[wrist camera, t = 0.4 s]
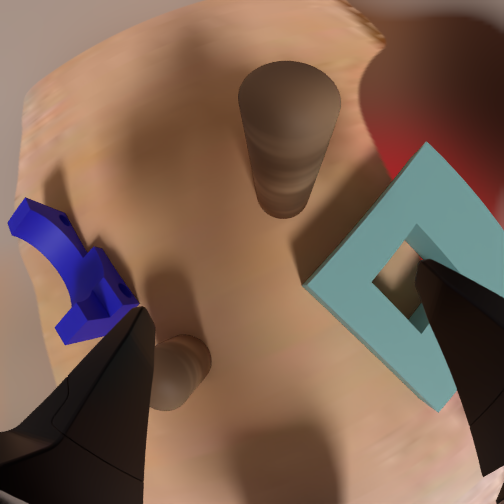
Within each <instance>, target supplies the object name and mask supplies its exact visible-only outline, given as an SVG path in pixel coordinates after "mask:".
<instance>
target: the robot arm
mask: <svg viewBox="0 0 504 504" xmlns="http://www.w3.org/2000/svg"><path fill="white" fill-rule="evenodd" d="M415 286H416V289H417V292H418V294H419V297H420V299H421V302H422V305H423V308H424V310H425V313H426V316H427V319H428V321H429V324H430V326H431V328H432V331H433V333H434V335H435V337H436V339H437V342H438V344H439V346H440V348H441V351H442V353H443V355H444V358H445V360H446V363H447V365H448V368H449V370H450V373H451V375H452V378H453V380H454V383H455V386H456V388H457V391H458V394H459V396H460V399H461V402H462V405H463V408H464V411H465V414H466V417H467V420H468V423H469V426H470V430H471V434H472V437H473V441H474V444H475V448H476V452H477V456H478V460H479V464H480V468H481V472H482V476H483V477H484V476H486V475H488V474H490V473H492V472H493V471H495V470H497V469H498V468H500V467H502V466H504V298H503V297H502V296H500V295H498V294H496V293H495V292H493V291H491V290H489V289H488V288H486V287H484V286H482V285H480V284H478V283H477V282H475V281H473V280H471V279H469V278H467V277H465V276H464V275H462V274H460V273H458V272H456V271H454V270H452V269H450V268H448V267H446V266H444V265H442V264H440V263H438V262H436V261H434V260H432V259H425V260H421V261H420V262H419V263H418V268H417V273H416V277H415ZM154 354H155V325H154V322H153V320H152V318H151V317H150V315H149V313H148V311H147V309H146V308H145V307H143V306H140V307H133V308H132V309H131V310H130V311H129V312H128V313H127V314H126V315H125V316H124V317H123V318H122V319H121V320H120V321H119V322H118V323H117V324H116V325H115V326H114V327H113V328H112V329H111V330H110V331H109V332H108V333H107V334H106V335H105V336H104V337H103V338H102V340H101V341H100V342H99V343H98V344H97V345H96V346H95V347H94V348H93V349H92V350H91V351H90V352H89V353H88V354H87V355H86V356H85V358H84V359H83V360H82V361H81V362H80V363H79V364H78V365H77V366H76V367H75V368H74V369H73V370H72V372H71V373H70V374H69V375H68V377H66V378H65V379H64V380H63V381H62V383H61V384H60V385H59V386H58V387H57V388H56V389H55V390H54V391H53V392H52V393H51V395H49V396H48V397H47V398H46V399H45V400H44V401H43V402H42V403H41V404H40V405H39V406H38V407H37V408H36V409H35V410H34V411H33V412H32V413H31V414H30V415H29V416H28V417H27V418H26V419H25V420H24V421H23V422H22V423H21V424H20V425H18V426H17V427H16V428H13V429H11V430H9V431H5V432H0V504H143V489H144V482H143V481H144V465H145V450H146V437H147V426H148V416H149V407H150V398H151V390H152V382H153V374H154ZM496 503H497V504H504V483H503V486H502V488H501V490H500V493H499V495H498V497H497V500H496Z"/></svg>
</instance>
